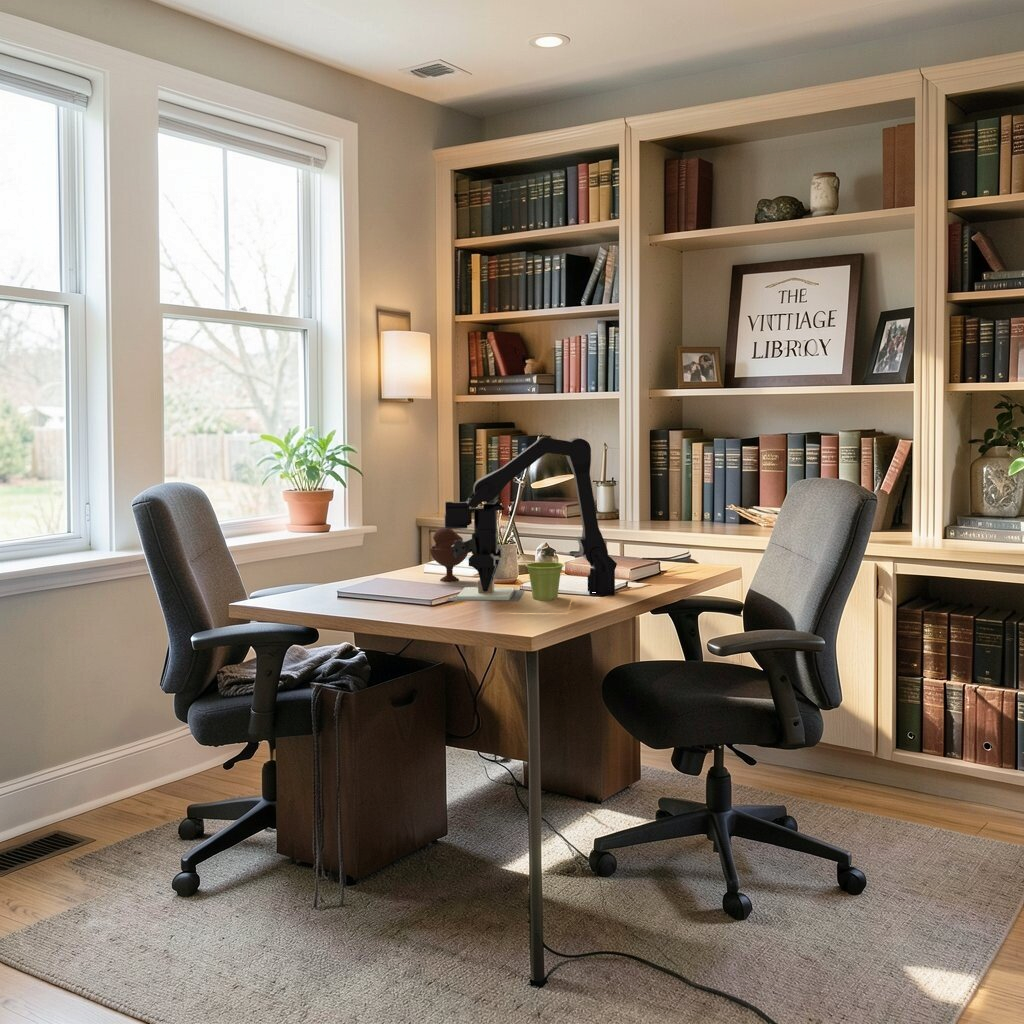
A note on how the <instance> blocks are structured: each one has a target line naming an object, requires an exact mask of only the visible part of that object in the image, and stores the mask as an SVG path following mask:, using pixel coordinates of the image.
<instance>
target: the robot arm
mask: <svg viewBox="0 0 1024 1024" xmlns="http://www.w3.org/2000/svg"><path fill="white" fill-rule="evenodd" d="M545 454H553V455H559V456H560V455H561V456H566V457H565V458H566V460H567V462H568V465H569V467H570V469H571V472H572V474H573V478H574V485H575V490H576V495H577V501H578V503H577V504H578V508H579V512H580V520H581V524H582V525H581V526H582V534H581V536H577V537H576V539H577V542H578V546H579V550H578V552H579V553H580V554H581V555H582V558H584V559H585V560H586V561H587V562H588V563H589V565H590V568H589V573H588V574H587V592H588V593H589V595H591V596H592V595H593V596H594V595H595V596H615V595H616V568H617V566H618V563H617V562H616V561H615V560H614V559H613V558H612V557H611V556H610V555H609V551H608V548H607V545H606V541H605V538H604V537H603V534H602V532H601V530H600V528H599V527H600V526H599V523H598V522H599V520H598V515H597V509H596V504H595V498H594V492H593V487H592V480H591V474H590V473H591V466H592V465H591V464H592V448H591V444H590V443H589V442H588V441H587V440H585V439H583V438H580V437H573V438H570V439H569V440H565V439H564V440H563V439H557V438H549V437H547V436H540V437H539V438H537V439H536V441H534V442H533V443H532V444H531V445H529V446H528V447H527V448H525V449H524V450H523V451H522V452H520V453H519V454H517V455H516V456H515V457H513V458H512V459H511V460H510V461H508V462H507V463H506V464H504V465H503V466H501V467H500V468H498V469H496V470H495V471H492V472H489V473H488V474H486V475H484V476H482V477H479V478H478V479H477V480H476V481H474V484H473V489H472V490H473V491H472V492H471V494H470V495H469V497H468V498H467V500H466V501H459V502H457V501H455V502H454V501H445V505H444V506H445V507H444V508H445V509H444V515H443V516H444V527H445V529H452V530H455V529H456V530H457V529H458V530H460V529H461V530H462V529H463V530H464V529H468V526H470V525H472V523H473V522H474V523H473V530H474V531H473V533H472V534H471V538H467V539H463V541H462V540H461V539H460V540H458V541H455V542H454V545H452V546H451V547H452V552H453V553H454V555H455V558H458V557H460V556H461V555H464V554H466V553H468V554H469V553H471V554H472V555H470V556H469V558H468V567H472V568H473V569H474V570H476V571H477V574H478V577H479V580H480V581H481V585H482V589H483V591H488V588H489V585H490V582H491V579H494V576H495V575H496V573H497V569H498V567H499V565H500V562H501V560H500V559H496V557H498V558H503V548H502V547H501V546H500V545H498V536H499V531H498V511H505V507H504V506H503V505H502V504H501V503H500V501H499V500H495V498H496V497H497V496H498V495H499V494H500V493H501V492H502V491H503V490H504V489H505V487H507V485H508V484H509V483H510V482H511V481H512V480H513V479H514V478H516V477H517V476H518V475H520V474H521V473H522V472H524V471H525V470H526V469H527V468H529V467H530V466H531V465H532V464H534V463H536V461H538V460H540V459H541V458H542V457H543V456H544V455H545ZM494 500H495V502H494V503H490V502H492V501H494ZM484 502H485V503H484ZM488 502H489V503H488ZM480 504H482V506H480V507H478V506H479V505H480ZM472 512H473V513H472ZM472 514H473V515H472ZM472 516H473V517H472ZM592 592H596V593H592Z"/></svg>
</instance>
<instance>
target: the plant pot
mask: <svg viewBox="0 0 1024 1024" xmlns="http://www.w3.org/2000/svg"><path fill="white" fill-rule="evenodd" d="M525 567H526V568H527V573H528V575H529V581H530V587H531V589H530V590H531V595H532V599H533V600H536V601H551V600H557V599H558V597H559V596H558V595H559V587H560V580H561V579H560V578H561V574H562V571H563V567H564V563H561V562H555V561H554V562H553V561H539V562H538V561H537V562H530V563H527V564H525Z"/></svg>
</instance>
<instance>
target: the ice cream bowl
mask: <svg viewBox="0 0 1024 1024" xmlns="http://www.w3.org/2000/svg"><path fill="white" fill-rule="evenodd" d="M432 539H433V541H434V543H435V545H432V546H429V552H430V555H431V557H432V559H434V561H435V562H436V563H438V564H439V565H441V566H443V567H445V569H446V575H445V576H443V577H441V578H440V580H439V582H442V583H455V582H456V583H457V582H459V581H460V579H459V577H457V576H455V575H454V572H453V569H454V567H456V566H458V565H460V564H461V563H462V562H463V561H464V560H465V559H467V556H468V555H469V553H466V554H464V555H461V556H460V557H458V558H455V555H454V553H453V552H452V547H451V546H452V545H454V542H455V541H458V540H460V539H461V540H462V541H464V539H463V537H462V536H461V535H459V534H458V533H457V532H455V530H454V529H445V526H444V527H439V528H438V529H437V530H436V531H435V532H434V534H433V536H432Z"/></svg>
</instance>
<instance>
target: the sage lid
mask: <svg viewBox="0 0 1024 1024" xmlns="http://www.w3.org/2000/svg"><path fill="white" fill-rule="evenodd" d="M515 590H516V587H495V579H494V578H493V579H491V582H490V585H489V588H488V591H483V589H482V585H481V581H480V579H478V581H477V587H476V586H475V587H474V586H471V587H468V586H465V587H463V590H462V591H461V592H460V593H459V594H458V595H457V599H461V600H509V599H510V598H511V596H512V594H513V593H514V591H515Z"/></svg>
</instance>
